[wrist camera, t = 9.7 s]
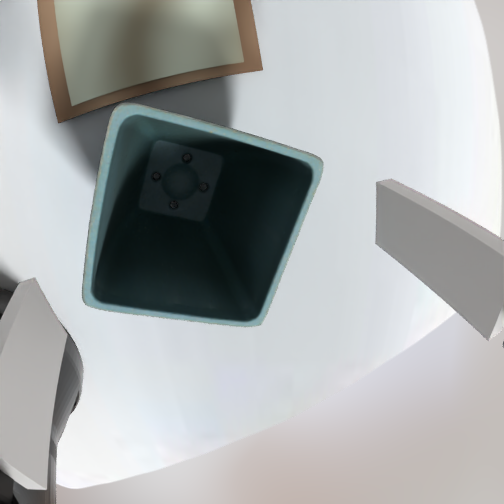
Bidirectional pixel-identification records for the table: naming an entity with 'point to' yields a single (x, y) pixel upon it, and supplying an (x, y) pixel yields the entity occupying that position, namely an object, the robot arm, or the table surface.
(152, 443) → the table surface
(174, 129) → the flower pot
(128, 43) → the board
